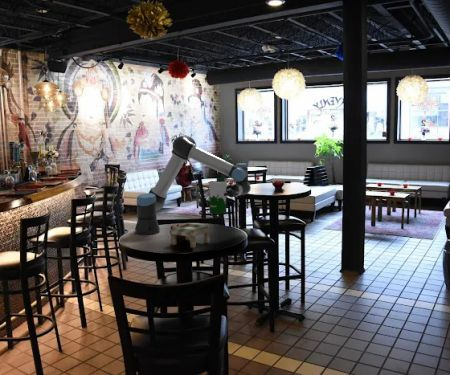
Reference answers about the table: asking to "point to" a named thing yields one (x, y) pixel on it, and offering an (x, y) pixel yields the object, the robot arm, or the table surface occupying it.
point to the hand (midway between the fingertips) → (213, 194)
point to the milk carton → (217, 196)
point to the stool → (190, 233)
